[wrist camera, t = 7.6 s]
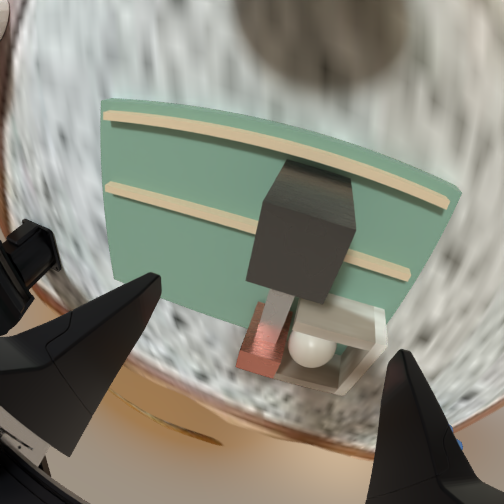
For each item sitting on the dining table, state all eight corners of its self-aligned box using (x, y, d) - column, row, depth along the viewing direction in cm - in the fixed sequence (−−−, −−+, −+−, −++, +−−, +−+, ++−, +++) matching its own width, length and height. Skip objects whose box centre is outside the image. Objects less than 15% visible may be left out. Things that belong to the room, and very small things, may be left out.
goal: (346, 353, 27) (343, 396, 23) (281, 335, 28) (269, 377, 24) (383, 299, 23) (387, 346, 19) (305, 275, 23) (295, 321, 19)
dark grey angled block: (291, 331, 25) (275, 393, 20) (247, 317, 26) (224, 377, 20) (350, 178, 17) (356, 230, 11) (286, 159, 17) (262, 201, 12)
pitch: (359, 350, 27) (359, 366, 25) (120, 272, 29) (109, 283, 28) (456, 186, 16) (466, 197, 14) (110, 98, 19) (94, 102, 17)
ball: (298, 383, 22) (274, 346, 24) (334, 365, 24) (310, 333, 26) (315, 357, 19) (286, 317, 22) (354, 339, 21) (325, 304, 24)
